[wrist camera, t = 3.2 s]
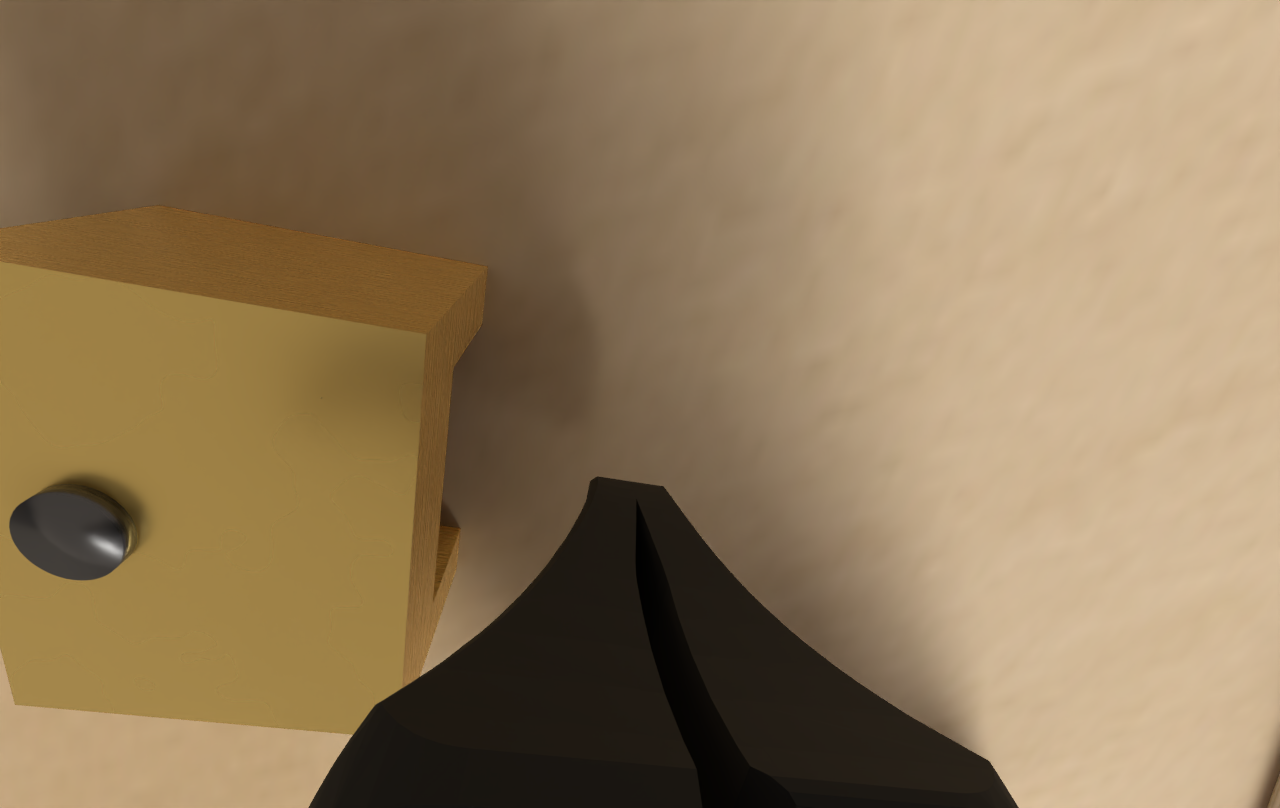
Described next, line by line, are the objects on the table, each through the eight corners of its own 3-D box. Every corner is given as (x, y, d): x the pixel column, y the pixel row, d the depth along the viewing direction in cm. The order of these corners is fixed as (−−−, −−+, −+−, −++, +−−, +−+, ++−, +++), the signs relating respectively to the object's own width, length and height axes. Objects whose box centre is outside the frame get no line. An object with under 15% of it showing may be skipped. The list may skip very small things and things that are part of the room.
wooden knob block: (488, 266, 12) (419, 341, 8) (456, 568, 15) (392, 754, 10) (159, 204, 11) (-134, 247, 7) (191, 535, 14) (-2, 720, 10)
